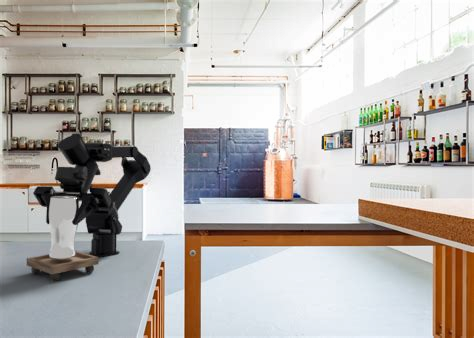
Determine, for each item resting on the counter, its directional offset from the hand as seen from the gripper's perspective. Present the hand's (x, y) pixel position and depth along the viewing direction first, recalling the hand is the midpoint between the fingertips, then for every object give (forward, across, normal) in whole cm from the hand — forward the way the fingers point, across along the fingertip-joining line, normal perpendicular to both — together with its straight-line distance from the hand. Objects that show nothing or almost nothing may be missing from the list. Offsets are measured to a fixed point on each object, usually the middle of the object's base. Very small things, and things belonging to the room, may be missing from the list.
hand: (61, 223), depth 97 cm
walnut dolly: (+8, 0, +10) cm, 13 cm away
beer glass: (+5, 0, +7) cm, 9 cm away
